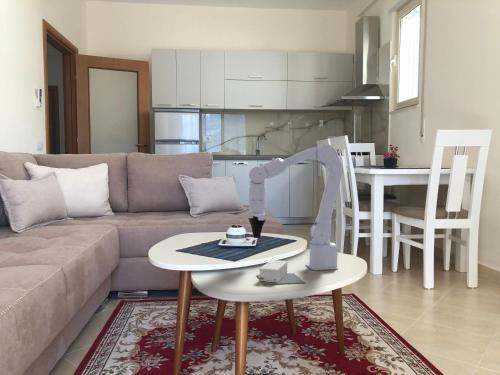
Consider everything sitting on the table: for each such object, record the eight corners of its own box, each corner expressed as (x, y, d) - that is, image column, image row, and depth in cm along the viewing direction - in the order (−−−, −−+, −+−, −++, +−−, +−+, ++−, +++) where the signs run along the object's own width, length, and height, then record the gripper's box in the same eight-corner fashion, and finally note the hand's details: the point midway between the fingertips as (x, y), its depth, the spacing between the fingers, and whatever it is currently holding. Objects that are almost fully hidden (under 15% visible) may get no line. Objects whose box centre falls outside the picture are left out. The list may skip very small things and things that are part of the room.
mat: (293, 274, 141) (293, 273, 141) (304, 283, 130) (304, 282, 130) (256, 275, 138) (256, 274, 138) (264, 285, 128) (264, 284, 128)
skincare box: (287, 261, 140) (278, 268, 129) (287, 274, 140) (278, 283, 129) (269, 259, 142) (259, 267, 131) (269, 272, 142) (259, 281, 131)
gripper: (242, 198, 156) (241, 234, 157) (250, 202, 142) (250, 241, 143) (260, 198, 158) (260, 234, 159) (270, 202, 144) (270, 241, 145)
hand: (256, 237), depth 151 cm, fingers closed
